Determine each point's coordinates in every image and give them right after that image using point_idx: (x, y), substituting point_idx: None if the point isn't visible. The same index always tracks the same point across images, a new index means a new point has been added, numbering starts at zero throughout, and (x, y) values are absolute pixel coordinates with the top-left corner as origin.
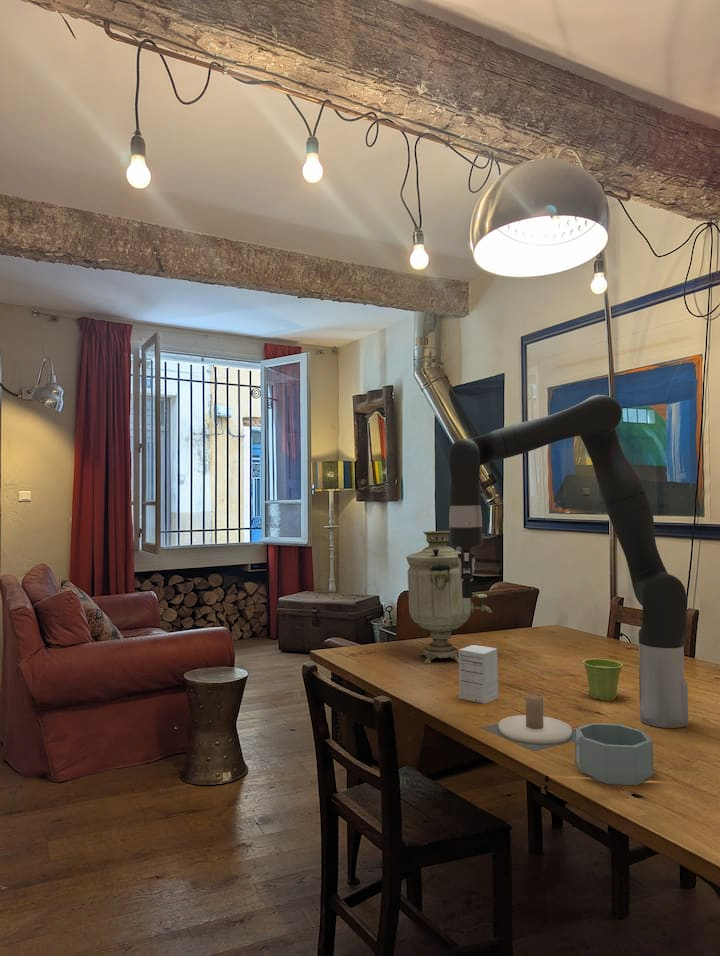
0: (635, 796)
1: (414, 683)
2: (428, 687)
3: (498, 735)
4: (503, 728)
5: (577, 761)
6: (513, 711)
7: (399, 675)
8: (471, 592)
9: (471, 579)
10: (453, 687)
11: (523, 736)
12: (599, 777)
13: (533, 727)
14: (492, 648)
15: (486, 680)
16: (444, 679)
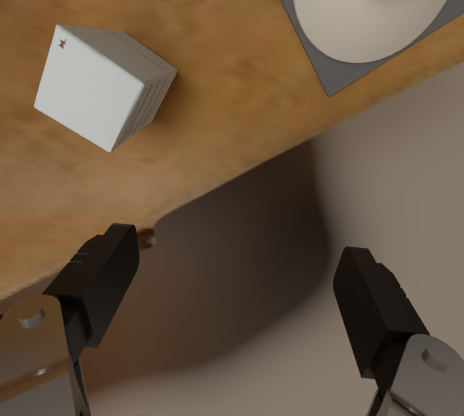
0: None
1: (65, 194)
2: (82, 171)
3: (377, 66)
4: (378, 55)
5: None
6: (211, 5)
7: (23, 216)
8: (376, 269)
9: (454, 359)
10: None
11: (435, 16)
12: None
13: None
14: (65, 43)
15: (157, 68)
16: (13, 139)
